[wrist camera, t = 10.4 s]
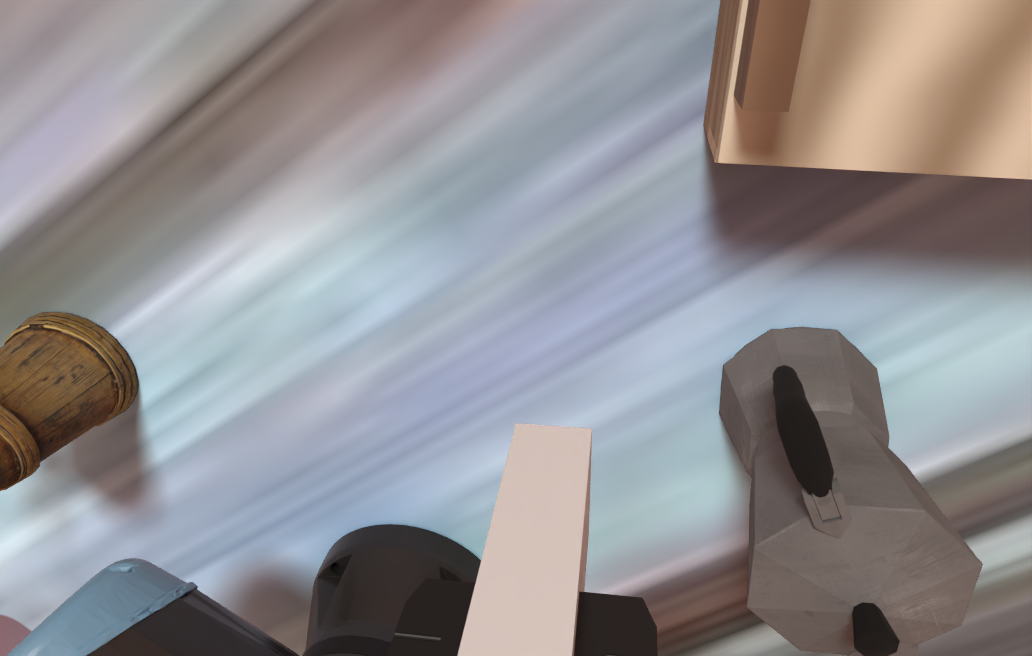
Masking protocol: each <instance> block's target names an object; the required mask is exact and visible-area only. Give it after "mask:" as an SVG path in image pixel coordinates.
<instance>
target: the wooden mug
mask: <svg viewBox="0 0 1032 656" xmlns="http://www.w3.org/2000/svg"><path fill="white" fill-rule="evenodd" d="M136 391H137V378H136V374H135V370H134V366H133V365H132V363H131V361H130V359H129V357H128V355H127V353H126V352H125V351H124V349H123V348H122V347H121V346H120V344H119V343H118V342H117V341H116V339H115V338H114V337H112V336H111V335H110V334H109V333H108V332H107V331H106V330H104V329H103V328H102V327H100V326H99V325H97V324H95V323H93V322H92V321H90V320H88V319H86V318H82V317H79V316H76V315H73V314H69V313H61V312H42V313H40V314H37V315H35V316H32V317H30V318H28V319H27V320H26V321H25V322H24V323H23V324H21V325H20V326H19V327H18V328H17V329H16V330H15V331H14V332H13V333H12V334H11V335H10V336H9V337H8V338H7V339H6V340H5V343H4V346H3V347H2V348H0V491H1V490H6V489H8V488H9V487H11V486H13V485H15V484H16V483H18V482H20V481H22V480H23V479H25V478H27V477H29V476H30V475H32V474H33V473H34V472H35V471H36V470H37V469H38V468H39V467H40V462H41V461H43V460H44V459H46V458H47V457H49V456H50V455H52V454H53V453H55V452H56V451H58V450H59V449H61V448H62V447H64V446H65V445H67V444H68V443H70V442H71V441H73V440H74V439H76V438H77V437H79V436H80V435H82V434H83V433H85V432H86V431H88V430H89V429H91V428H92V427H94V426H98V425H101V424H103V423H105V422H106V421H108V420H110V419H112V418H113V417H115V416H117V415H119V414H121V413H122V412H124V411H126V409H127V408H128V407H129V406H130V404H131V403H132V402H133V400H134V397H135V395H136Z"/></svg>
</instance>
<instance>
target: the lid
mask: <svg viewBox="0 0 1032 656" xmlns="http://www.w3.org/2000/svg"><path fill="white" fill-rule="evenodd" d="M716 158H717V161H718V163H731V164H749V165H768V166H787V167H806V168H825V169H843V170H862V171H881V172H900V173H919V174H937V175H956V176H975V177H994V178H1012V179H1031V180H1032V0H740V4H739V10H738V17H737V24H736V30H735V37H734V44H733V50H732V57H731V63H730V70H729V77H728V83H727V90H726V97H725V103H724V110H723V116H722V123H721V130H720V136H719V143H718V150H717V156H716Z"/></svg>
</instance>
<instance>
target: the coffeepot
mask: <svg viewBox="0 0 1032 656" xmlns="http://www.w3.org/2000/svg"><path fill="white" fill-rule="evenodd" d="M719 414H720V416H721V418H722V420H723V422H724V425H725V427H726V429H727V431H728V433H729V435H730V437H731V440H732V442H733V444H734V446H735V448H736V450H737V453H738V455H739V457H740V459H741V461H742V463H743V465H744V468H745V470H746V472H747V473H748V474H749V475H750V476H751V477H752V483H751V494H750V516H749V555H748V593H747V608H748V609H750V610H751V611H752V612H753V613H754V614H756V615H757V616H758V617H759V618H761V619H762V620H763V621H764V622H766V623H767V624H768V625H769V626H771V627H772V628H773V629H774V630H776V631H777V632H778V633H779V634H781V635H782V636H783V637H784V638H785V639H787V640H788V641H789V642H790V643H792V644H793V645H794V646H795V647H797V648H798V649H799V650H800V651H811V652H822V653H833V654H843V655H847V656H916V654H917V650H918V646H919V645H918V644H920V643H922V642H924V641H927V640H929V639H931V638H934V637H936V636H938V635H940V634H943V633H945V632H947V631H950V630H952V629H954V628H957V627H959V626H961V625H962V622H963V619H964V617H965V614H966V611H967V608H968V605H969V602H970V599H971V597H972V594H973V591H974V588H975V585H976V582H977V579H978V577H979V574H980V571H981V568H982V565H983V564H982V562H981V561H980V560H979V559H978V558H977V557H976V556H975V554H974V553H973V552H972V550H971V549H970V548H969V546H968V545H967V544H966V543H965V541H964V540H963V539H962V537H961V536H960V535H959V534H958V532H957V531H956V530H955V528H954V527H953V526H952V524H951V523H950V522H949V521H948V519H947V518H946V517H945V515H944V514H943V513H942V511H941V510H940V509H939V508H938V506H937V505H936V504H935V502H934V501H933V500H932V498H931V497H930V496H929V495H928V493H927V492H926V491H925V489H924V488H923V487H922V486H921V484H920V483H919V482H918V480H917V479H916V478H915V476H914V475H913V474H912V473H911V471H910V470H909V469H908V467H907V466H906V465H905V464H904V463H903V462H902V461H901V460H900V459H899V458H898V457H897V456H896V455H895V454H894V453H893V452H892V451H891V450H890V449H889V448H888V444H889V432H888V427H887V421H886V416H885V410H884V405H883V399H882V394H881V388H880V383H879V377H878V372H877V368H876V367H875V366H874V365H873V364H872V363H871V362H870V361H869V360H868V359H867V358H866V357H865V356H864V355H863V354H862V353H861V352H860V351H859V350H858V349H857V348H856V347H855V346H854V345H853V344H851V343H850V342H849V341H848V340H847V339H846V338H845V337H844V336H843V335H842V334H841V333H840V332H839V331H838V330H832V329H820V328H809V327H794V328H785V329H771V330H769V331H767V332H766V333H764V334H763V335H761V336H759V337H758V338H756V339H755V340H753V341H751V342H750V343H748V344H746V345H745V346H744V347H743V348H742V349H741V350H740V351H739V352H738V353H736V355H735V356H734V357H733V358H732V359H730V360H729V361H728V362H726V363H725V364H724V365H723V374H722V382H721V398H720V410H719Z"/></svg>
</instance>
